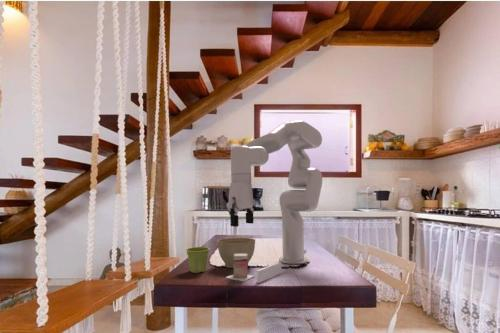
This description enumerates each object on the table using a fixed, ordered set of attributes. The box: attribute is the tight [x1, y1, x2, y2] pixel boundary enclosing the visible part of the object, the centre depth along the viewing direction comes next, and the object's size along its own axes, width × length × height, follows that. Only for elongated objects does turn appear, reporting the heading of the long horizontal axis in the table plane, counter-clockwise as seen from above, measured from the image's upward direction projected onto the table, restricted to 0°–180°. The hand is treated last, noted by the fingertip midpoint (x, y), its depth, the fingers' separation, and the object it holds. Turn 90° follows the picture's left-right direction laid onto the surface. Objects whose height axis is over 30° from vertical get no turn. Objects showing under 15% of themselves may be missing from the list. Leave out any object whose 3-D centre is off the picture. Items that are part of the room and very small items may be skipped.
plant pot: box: [185, 246, 211, 274], centre depth 130 cm, size 9×9×9 cm
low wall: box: [255, 261, 282, 284], centre depth 120 cm, size 16×1×4 cm, turn 146°
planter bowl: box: [216, 237, 256, 269], centre depth 138 cm, size 16×16×11 cm
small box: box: [233, 254, 249, 278], centre depth 120 cm, size 5×4×8 cm
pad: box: [225, 273, 256, 282], centre depth 120 cm, size 7×8×1 cm
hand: (242, 224), depth 123 cm, fingers open, 9 cm apart
